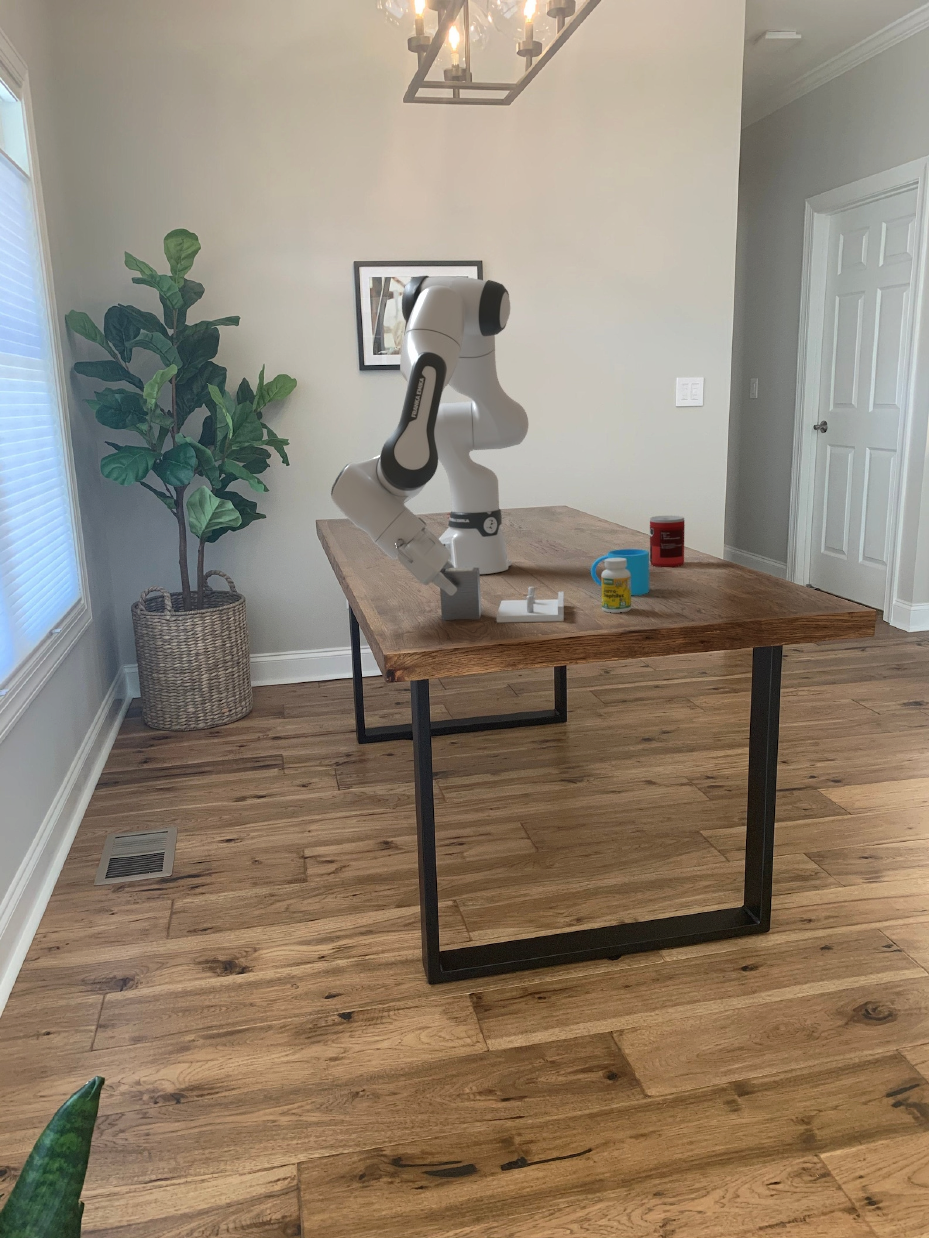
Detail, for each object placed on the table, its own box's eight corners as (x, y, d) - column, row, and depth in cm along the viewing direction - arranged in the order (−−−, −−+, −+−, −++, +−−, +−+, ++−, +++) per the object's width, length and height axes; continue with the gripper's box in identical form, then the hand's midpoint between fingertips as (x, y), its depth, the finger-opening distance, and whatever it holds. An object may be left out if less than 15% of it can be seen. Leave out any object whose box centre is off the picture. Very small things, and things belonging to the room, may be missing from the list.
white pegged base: (496, 622, 167) (495, 599, 166) (501, 606, 179) (501, 585, 178) (563, 621, 165) (563, 598, 164) (563, 605, 178) (563, 583, 177)
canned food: (662, 560, 220) (662, 514, 217) (691, 564, 214) (691, 516, 212) (642, 565, 215) (642, 518, 212) (671, 569, 209) (671, 520, 207)
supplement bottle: (633, 607, 173) (633, 557, 171) (627, 614, 169) (627, 562, 166) (605, 606, 175) (604, 556, 173) (598, 612, 171) (598, 561, 168)
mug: (653, 589, 189) (653, 549, 187) (642, 597, 182) (642, 556, 180) (597, 586, 194) (596, 548, 192) (584, 594, 187) (584, 554, 185)
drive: (441, 620, 171) (439, 571, 169) (444, 615, 175) (442, 567, 172) (479, 619, 170) (477, 570, 168) (481, 614, 174) (479, 566, 172)
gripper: (404, 532, 159) (463, 586, 160) (422, 517, 179) (475, 565, 180) (380, 558, 161) (439, 611, 162) (401, 540, 180) (453, 588, 181)
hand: (458, 587), depth 171 cm, fingers open, 8 cm apart
